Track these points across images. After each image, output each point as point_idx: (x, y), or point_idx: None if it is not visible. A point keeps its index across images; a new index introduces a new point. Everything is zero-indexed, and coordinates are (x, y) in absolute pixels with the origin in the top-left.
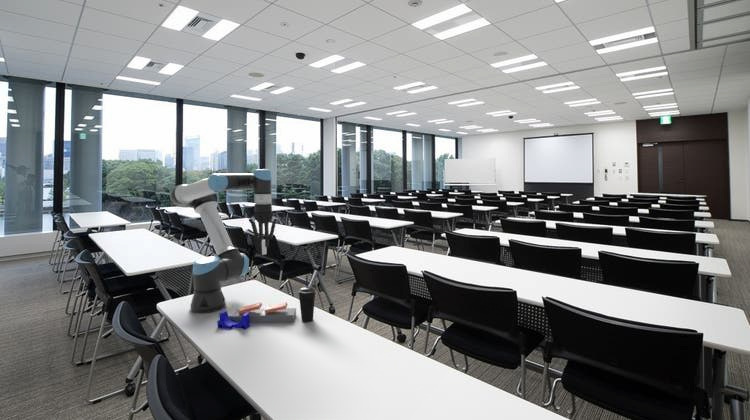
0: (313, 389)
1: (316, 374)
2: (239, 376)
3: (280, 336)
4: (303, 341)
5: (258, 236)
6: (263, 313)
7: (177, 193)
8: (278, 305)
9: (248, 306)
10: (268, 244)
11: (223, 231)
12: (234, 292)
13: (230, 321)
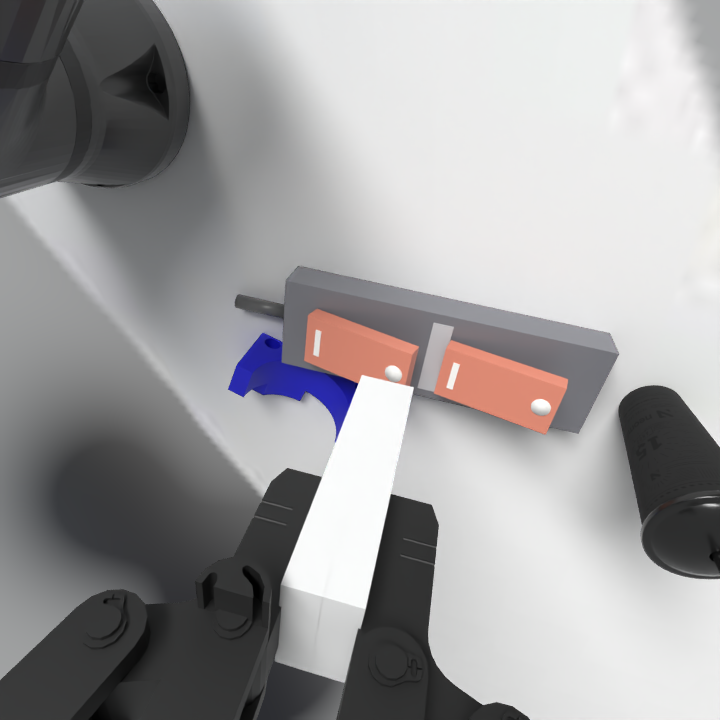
0: (539, 696)
1: (560, 670)
2: None
3: (496, 498)
4: (572, 551)
5: (135, 699)
6: (430, 375)
7: None
8: (511, 396)
9: (346, 345)
10: (432, 557)
11: None
12: None
13: (289, 372)
